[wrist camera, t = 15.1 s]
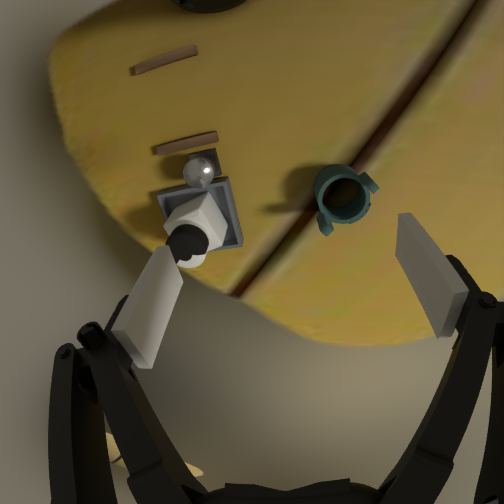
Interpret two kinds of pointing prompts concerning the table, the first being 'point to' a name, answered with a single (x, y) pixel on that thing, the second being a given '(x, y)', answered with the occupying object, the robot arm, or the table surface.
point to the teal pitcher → (348, 212)
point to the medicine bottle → (195, 230)
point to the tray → (222, 198)
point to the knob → (202, 168)
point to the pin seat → (161, 61)
